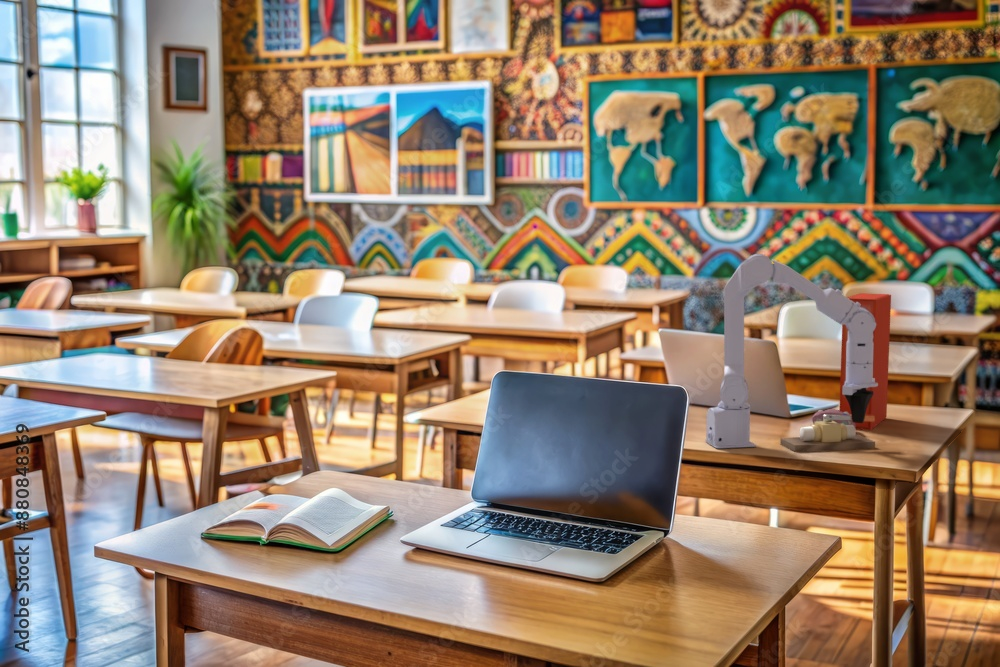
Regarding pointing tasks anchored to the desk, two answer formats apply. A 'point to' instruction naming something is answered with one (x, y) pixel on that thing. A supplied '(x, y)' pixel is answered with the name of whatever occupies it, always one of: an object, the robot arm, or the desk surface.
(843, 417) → the valve lever
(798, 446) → the board
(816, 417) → the video game controller
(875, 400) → the file binder
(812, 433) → the pipe valve
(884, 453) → the desk surface
